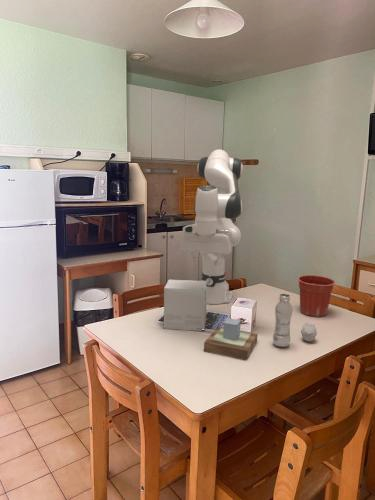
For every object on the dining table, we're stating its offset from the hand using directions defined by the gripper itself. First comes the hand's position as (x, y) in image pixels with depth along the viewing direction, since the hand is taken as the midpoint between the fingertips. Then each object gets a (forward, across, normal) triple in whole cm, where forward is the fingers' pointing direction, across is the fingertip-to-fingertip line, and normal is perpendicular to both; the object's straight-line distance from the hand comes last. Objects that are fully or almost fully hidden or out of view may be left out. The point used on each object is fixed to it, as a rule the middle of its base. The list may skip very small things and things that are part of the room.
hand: (205, 263), depth 148 cm
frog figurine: (+29, -40, -11) cm, 51 cm away
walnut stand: (+29, -14, +7) cm, 33 cm away
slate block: (+25, -14, +7) cm, 30 cm away
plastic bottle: (+29, -31, -2) cm, 43 cm away
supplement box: (+29, +10, -5) cm, 31 cm away
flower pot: (+29, -39, -44) cm, 66 cm away
